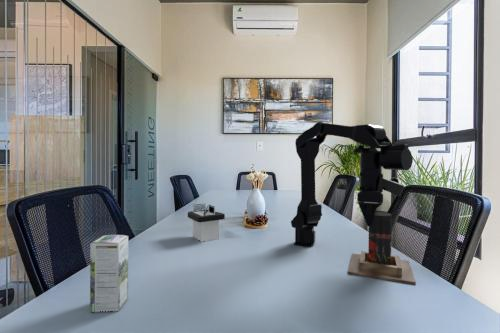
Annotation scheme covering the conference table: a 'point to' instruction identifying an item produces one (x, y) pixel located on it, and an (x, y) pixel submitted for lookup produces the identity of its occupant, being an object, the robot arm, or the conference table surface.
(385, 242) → the deodorant
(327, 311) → the conference table surface
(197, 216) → the black-topped pedestal
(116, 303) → the syrup box
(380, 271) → the holder
